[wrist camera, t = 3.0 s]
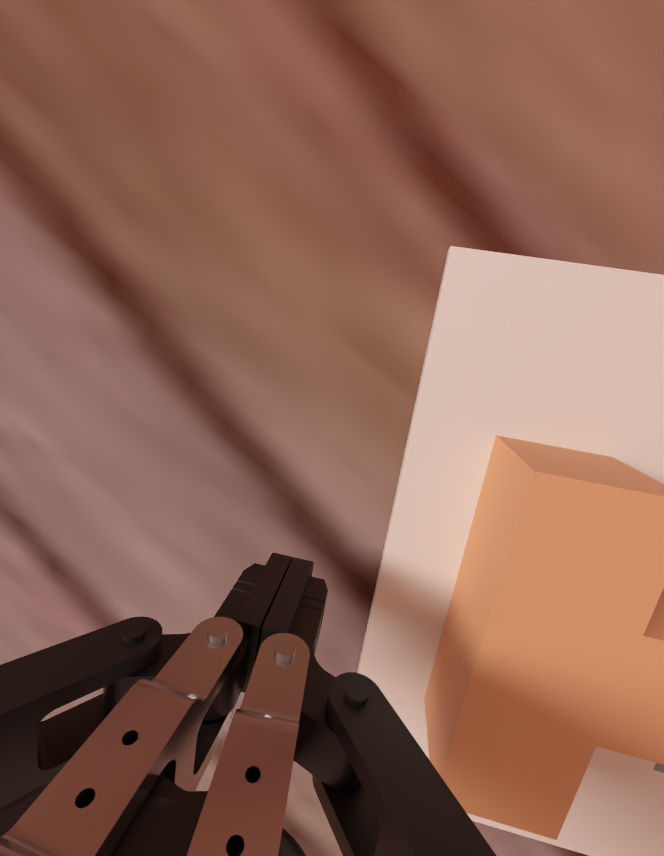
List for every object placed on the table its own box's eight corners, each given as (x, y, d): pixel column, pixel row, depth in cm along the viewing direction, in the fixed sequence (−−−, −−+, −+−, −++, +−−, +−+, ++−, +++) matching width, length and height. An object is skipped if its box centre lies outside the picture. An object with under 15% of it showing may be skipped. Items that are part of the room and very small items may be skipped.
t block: (873, 506, 13) (1082, 578, 9) (724, 779, 16) (833, 923, 12) (495, 435, 14) (533, 471, 10) (424, 697, 17) (432, 802, 13)
